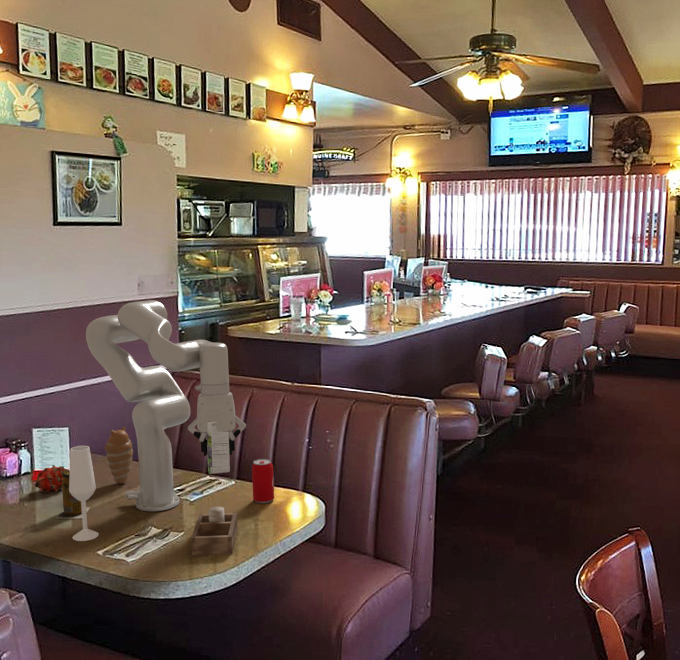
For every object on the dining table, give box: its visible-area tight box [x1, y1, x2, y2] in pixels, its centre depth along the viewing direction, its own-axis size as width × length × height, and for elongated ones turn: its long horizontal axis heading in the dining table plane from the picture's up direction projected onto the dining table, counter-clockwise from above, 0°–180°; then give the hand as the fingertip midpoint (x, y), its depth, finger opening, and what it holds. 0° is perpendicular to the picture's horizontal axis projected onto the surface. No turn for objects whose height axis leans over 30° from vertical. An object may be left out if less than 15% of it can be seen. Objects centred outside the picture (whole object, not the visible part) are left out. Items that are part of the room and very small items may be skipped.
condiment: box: [56, 469, 91, 520], centre depth 225 cm, size 7×8×12 cm
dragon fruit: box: [34, 464, 69, 494], centre depth 245 cm, size 8×8×12 cm
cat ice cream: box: [104, 426, 134, 485], centre depth 249 cm, size 9×8×18 cm
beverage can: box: [251, 458, 275, 504], centre depth 232 cm, size 6×6×12 cm
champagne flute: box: [69, 445, 99, 542], centre depth 207 cm, size 7×7×24 cm
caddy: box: [190, 506, 239, 556], centre depth 203 cm, size 10×16×7 cm, turn 3°
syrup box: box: [206, 421, 231, 475], centre depth 213 cm, size 6×6×14 cm
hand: (218, 453), depth 214 cm, fingers closed on syrup box, 6 cm apart
